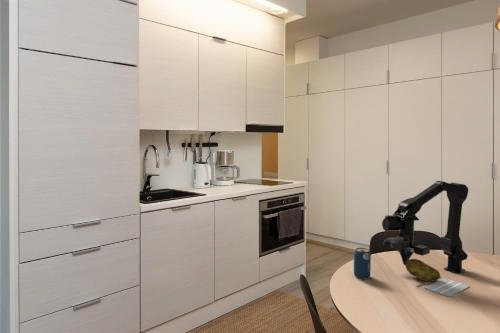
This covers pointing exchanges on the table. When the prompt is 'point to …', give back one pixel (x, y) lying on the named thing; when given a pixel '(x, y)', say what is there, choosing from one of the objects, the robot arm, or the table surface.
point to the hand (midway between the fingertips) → (405, 264)
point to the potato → (422, 270)
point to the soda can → (362, 263)
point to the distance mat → (447, 287)
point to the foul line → (423, 283)
